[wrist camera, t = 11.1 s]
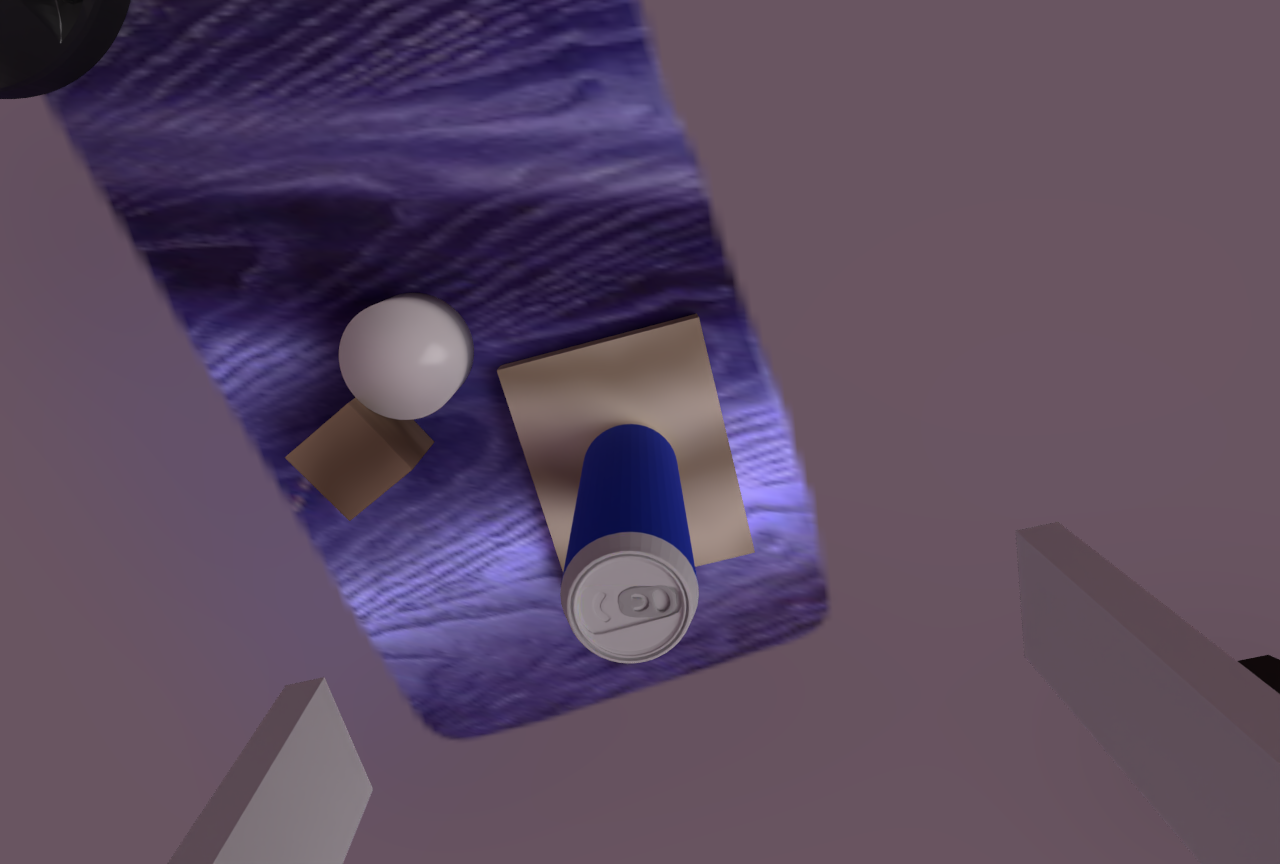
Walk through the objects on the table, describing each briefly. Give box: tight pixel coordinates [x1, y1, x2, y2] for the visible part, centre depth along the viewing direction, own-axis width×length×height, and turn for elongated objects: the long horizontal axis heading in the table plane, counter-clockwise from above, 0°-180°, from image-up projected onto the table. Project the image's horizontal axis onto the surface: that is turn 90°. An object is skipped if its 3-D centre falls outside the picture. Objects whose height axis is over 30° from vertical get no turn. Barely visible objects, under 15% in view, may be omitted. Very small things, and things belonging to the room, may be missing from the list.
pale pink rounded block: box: [339, 293, 474, 420], centre depth 39 cm, size 6×6×4 cm
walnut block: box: [285, 397, 434, 521], centre depth 40 cm, size 4×4×4 cm
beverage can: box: [560, 424, 699, 663], centre depth 34 cm, size 5×5×15 cm
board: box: [497, 314, 755, 571], centre depth 42 cm, size 14×11×1 cm
